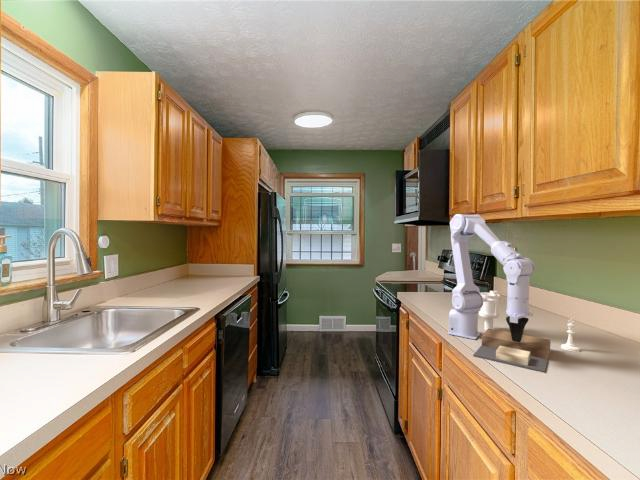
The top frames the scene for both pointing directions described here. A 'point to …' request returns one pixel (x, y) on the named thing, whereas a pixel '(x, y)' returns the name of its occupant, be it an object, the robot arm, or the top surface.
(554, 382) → the top surface
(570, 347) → the chess piece
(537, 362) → the rubber mat
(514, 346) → the walnut deck
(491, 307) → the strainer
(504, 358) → the birch tile
